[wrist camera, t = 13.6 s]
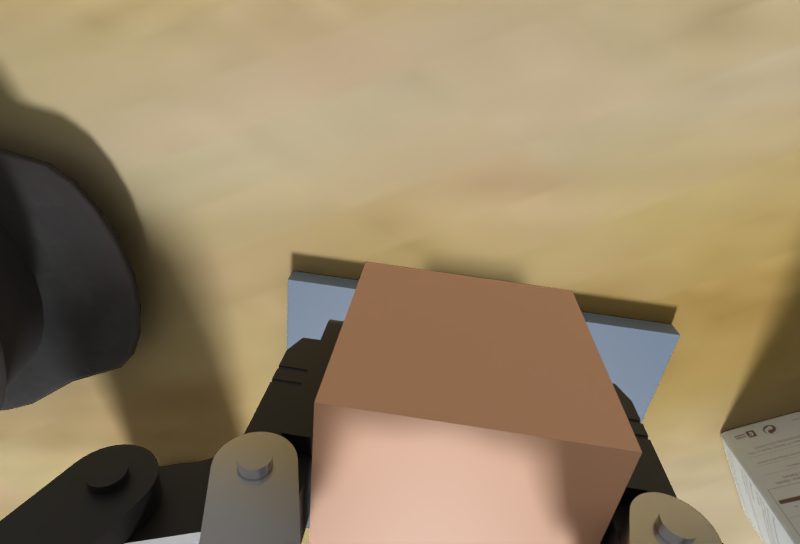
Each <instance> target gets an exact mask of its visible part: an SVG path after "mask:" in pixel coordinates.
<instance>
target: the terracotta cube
mask: <svg viewBox="0 0 800 544" xmlns="http://www.w3.org/2000/svg"><path fill="white" fill-rule="evenodd" d="M641 454H642V451H641V448H640V446H639V444H638V441H637V439H636V437H635V435H634V432H633V430H632V428H631V425H630V423H629V421H628V418H627V416H626V414H625V411H624V409H623V407H622V405H621V402H620V400H619V398H618V395H617V393H616V391H615V388H614V386H613V384H612V382H611V379H610V377H609V375H608V372H607V370H606V368H605V365H604V363H603V361H602V358H601V356H600V354H599V352H598V349H597V347H596V345H595V342H594V340H593V338H592V335H591V333H590V331H589V329H588V326H587V324H586V322H585V319H584V317H583V315H582V312H581V310H580V308H579V305H578V303H577V301H576V299H575V296H574V294H573V292H572V291H570V290H563V289H556V288H549V287H542V286H534V285H527V284H520V283H513V282H506V281H499V280H492V279H485V278H478V277H471V276H464V275H456V274H449V273H442V272H435V271H428V270H421V269H414V268H407V267H400V266H393V265H386V264H378V263H371V262H366V263H365V265H364V268H363V271H362V273H361V276H360V279H359V282H358V284H357V287H356V290H355V293H354V295H353V298H352V301H351V303H350V306H349V309H348V312H347V314H346V317H345V320H344V323H343V325H342V328H341V331H340V333H339V336H338V339H337V342H336V344H335V347H334V350H333V353H332V355H331V358H330V361H329V363H328V366H327V369H326V372H325V374H324V377H323V380H322V383H321V385H320V388H319V391H318V393H317V396H316V399H315V402H314V422H313V450H312V477H311V504H310V531H309V544H600V542H601V540H602V538H603V536H604V534H605V532H606V530H607V527H608V525H609V523H610V521H611V519H612V517H613V514H614V512H615V510H616V508H617V506H618V504H619V501H620V499H621V497H622V495H623V493H624V491H625V488H626V486H627V484H628V482H629V480H630V478H631V476H632V473H633V471H634V469H635V467H636V465H637V463H638V460H639V458H640V456H641Z"/></svg>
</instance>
